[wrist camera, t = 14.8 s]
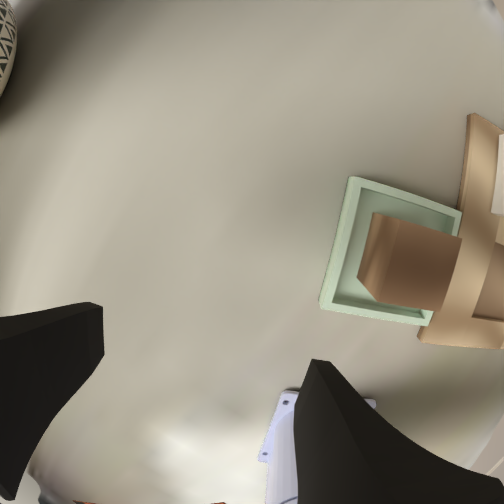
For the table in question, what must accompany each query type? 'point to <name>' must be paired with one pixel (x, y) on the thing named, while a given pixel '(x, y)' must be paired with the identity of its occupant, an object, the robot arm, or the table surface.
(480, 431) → the table surface
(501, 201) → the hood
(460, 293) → the puzzle board
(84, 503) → the chessboard
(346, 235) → the tray
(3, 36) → the planter
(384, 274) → the block
